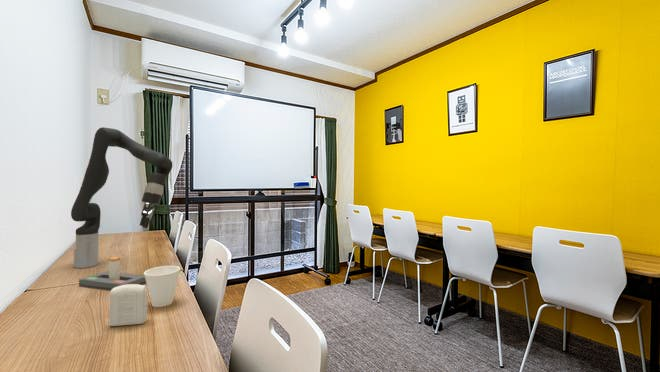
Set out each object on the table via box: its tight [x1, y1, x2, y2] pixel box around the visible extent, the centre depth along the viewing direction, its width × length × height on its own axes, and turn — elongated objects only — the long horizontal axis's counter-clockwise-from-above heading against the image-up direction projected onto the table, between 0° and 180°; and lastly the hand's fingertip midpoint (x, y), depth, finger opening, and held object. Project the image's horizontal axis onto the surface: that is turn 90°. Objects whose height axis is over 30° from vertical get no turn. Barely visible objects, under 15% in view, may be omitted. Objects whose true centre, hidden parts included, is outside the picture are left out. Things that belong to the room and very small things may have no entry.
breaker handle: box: [108, 256, 121, 280], centre depth 127 cm, size 3×2×10 cm
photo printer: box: [109, 284, 148, 327], centre depth 93 cm, size 10×4×12 cm, turn 103°
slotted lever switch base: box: [78, 270, 147, 292], centre depth 127 cm, size 24×12×3 cm, turn 75°
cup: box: [143, 265, 181, 308], centre depth 108 cm, size 12×12×12 cm
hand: (143, 226), depth 136 cm, fingers open, 8 cm apart
